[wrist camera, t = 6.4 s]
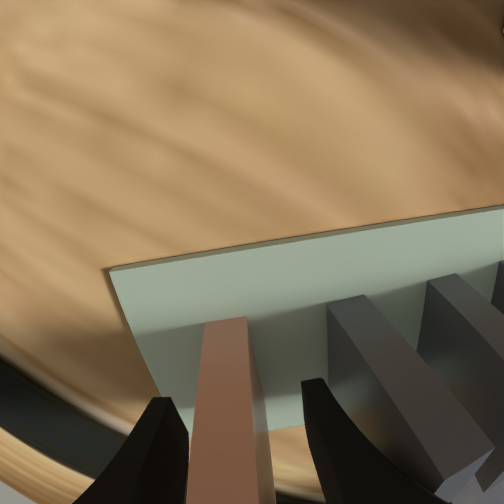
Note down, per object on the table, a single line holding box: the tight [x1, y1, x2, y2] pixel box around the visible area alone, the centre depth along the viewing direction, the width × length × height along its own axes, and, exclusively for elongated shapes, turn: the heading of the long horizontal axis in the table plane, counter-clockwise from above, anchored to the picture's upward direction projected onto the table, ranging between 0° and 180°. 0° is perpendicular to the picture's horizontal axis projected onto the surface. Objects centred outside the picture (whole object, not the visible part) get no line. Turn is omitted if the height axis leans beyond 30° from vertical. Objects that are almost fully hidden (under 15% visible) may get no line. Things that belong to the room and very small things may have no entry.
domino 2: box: [416, 273, 504, 493], centre depth 8 cm, size 4×1×7 cm, turn 9°
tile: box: [186, 316, 276, 504], centre depth 8 cm, size 4×1×7 cm, turn 9°
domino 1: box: [326, 294, 495, 503], centre depth 8 cm, size 4×1×7 cm, turn 9°
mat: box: [109, 205, 504, 438], centre depth 11 cm, size 9×27×1 cm, turn 99°
